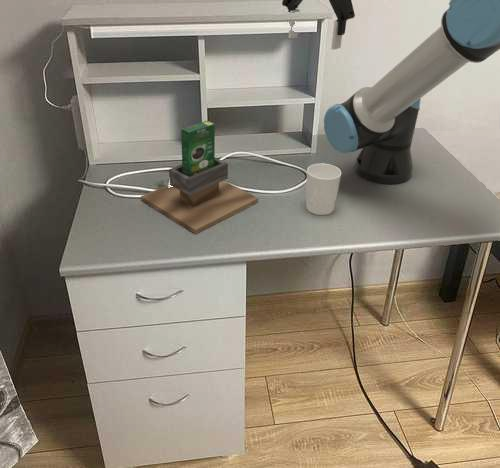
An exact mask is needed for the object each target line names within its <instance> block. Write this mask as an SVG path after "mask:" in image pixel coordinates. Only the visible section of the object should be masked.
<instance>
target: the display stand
mask: <svg viewBox="0 0 500 468" xmlns="http://www.w3.org/2000/svg"><path fill="white" fill-rule="evenodd" d="M214 162H215V166H214V167H212V168H210V169H207V170H205V171H203V172H200V173H198V174H195V175H193V176H191V177H188V176H186V175H185V174H183V173H182V163H181V164H178V165H177V166H173V167H171V168H169V169H168V175H169V184H170V185H171V186H173V187H170V188H168V185H169V184H167V185H164V186H162V187H159V188H157V189H154V190H153V191H150V192H148V193H145V194H143V195H141V196H140V201H141V202H143V203H144V204H146V205H148V206H150V207H151V208H153V209H154V210H156V211H157V212H159V213H161V214H163V215H164V216H165V217H167V218H169V219H170V220H172V221H174V223H175V222H176V223H177V224H178V225H180V226H182V227H184V228H185V229H186V230H188V231H189V232H191V233H192V234H195V235H198V234H199V233H201V232H203V231H205V230H208V229H209V228H210V227H213V226H215V225H217V224H220V223H221V222H223V221H224V220H227V219H228V218H230V217H232V216H234V215H236V214H238V213H241V212H242V211H245V210H246V209H248V208H250V207H253V206H254V205H256V204H258V203H259V198H258V197H257V196H255V195H253V194H251V193H249V192H247V191H245V190H243V189H241V188H239V187H237V186H235V185H233V184H232V183H229V182H228V181H225V180H227V179H228V178H229V177H228V174H229V170H228V169H229V163H228V162H226V161H223V160H221V159H219V158H217V157H215V161H214Z"/></svg>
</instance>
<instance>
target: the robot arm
mask: <svg viewBox="0 0 500 468" xmlns="http://www.w3.org/2000/svg"><path fill="white" fill-rule="evenodd" d="M303 1H304V0H282V2H281V5H282V6H283V7H286V8H287V13H288V12H290V13H295V12H299V13H300V9H299V6H300V4H302V2H303ZM328 2H329V4H330V6H331V8H332V10H333V13H334V15H335V17H336V18H337V19H336V20H334V22H333V32H332V40H331V48H330V49H331V50H337V49H342V48H341V47H342V39H343V35H345V33H346V26H347V21H348V20H350V19H354V18H355V17H356V15H355V11H354V10H355V9H354V6H353V2H352V0H328ZM448 5H449V7H448V9H446V10H445V11H444V12H443V14H442V16H441V20H440V27H438V28H437V29H436V30H435V31H434V32H432V33H431V35H429V36H428V37H427V38H426V39H424V41H423V42H421V43H420V44H418V46H417V47H415V49H413V50H412V51H411V52H410V53H408V55H407V56H406V57H404V58H403V59H402V60H401V61H400V62H398V64H396V65H395V66H394V67H393V68H392V69H391V70H389V71H388V72H387V73H386V74H385V75H384V76H383V77H381V78H380V79H379V80H378V81H377V82H376V83H375V84H374V85H373V86H371V87H370V86H365V87H364V86H363V87H362V88H360V89H358V90H357V91H356V92H355V93H354V94H352V95H350V97H349V98H348V99H347V100H345V101H344V102H342V103H335V104H333V105H332V106H330V107H329V108H328V109H327V110H326V111H325V114H324V117H323V129H324V134H325V137H326V140H327V141H328V143H329V144H330V146H331V147H332V148H333V149H334V150H336V151H338V152H339V153H342V154H347V153H354V152H356V151H358V150H360V152H359V154H358V155H357V157H356V160H355V164H354V165H355V166H354V168H355V172H356V174H358V175H359V176H360V177H362V178H363V179H365V180H368V181H371V182H374V183H376V184H377V183H378V184H384V185H396V184H401V183H405V182H407V181H408V180H410V179H411V177H412V174H413V168H414V167H413V166H414V165H413V159H412V150H411V147H412V142H413V138H414V133H415V128H416V124H417V121H418V116H419V111H420V109H421V108H420V105H421V99H422V98H423V97H424V96H426V95H427V94H428V93H429V92H431V91H432V90H434V88H436V87H437V86H439V85H440V84H441V83H442V82H444V81H445V80H447V79H448V78H449V77H451V76H452V75H453V74H455V73H456V72H457V71H458V70H460V69H461V68H462V67H464V66H465V65H467V64H468V63H474V64H479V63H482V62H483V61H486V60H487V59H488V58H490V56H492V55H494V54H495V53H497V52H498V51H499V50H500V0H449V2H448ZM288 24H290V26H291V30H290V31H289V30H288V37H287V38H288V39H294V38H298V35H299V31H298V32H294V31H292V27H293V25H294V24H295V22H294V21H290V22H289V23H288Z"/></svg>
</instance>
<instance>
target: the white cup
mask: <svg viewBox="0 0 500 468" xmlns="http://www.w3.org/2000/svg"><path fill="white" fill-rule="evenodd" d="M306 169H307V170H306V184H305V186H306V187H305V197H306V198H305V200H306V201H305V208H306V211H308V212H309V213H311V214H314V215H317V216H326V215H330V214H332V213H333V211H335V205H336V202H337V197H338V193H339V187H340V182H341V179H342V170H341V169H340V168H339V167H337V166H336V165H334V164H328V163H313V164H311V165H309V166H308V167H307V168H306Z"/></svg>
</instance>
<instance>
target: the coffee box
mask: <svg viewBox="0 0 500 468" xmlns="http://www.w3.org/2000/svg"><path fill="white" fill-rule="evenodd" d="M215 127H216V124H215V123H214V122H212V121H209V120H205V121H202V122H199V123H196V124H192V125H189V126H185V127H182V128H181V129H180V133H181V136H180V137H181V138H180V139H181V162H182V163H181V164H182V173H183V174H185V175H186V176H188V177H191V176H193V175H195V174H198V173H200V172H203V171H205V170H207V169H210V168H212V167H214V166H215V162H214V161H215V158H216V157H215V156H216V155H215V151H216V150H215V144H216V142H215V141H216V140H215V138H216V134H215V130H216V128H215Z"/></svg>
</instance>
